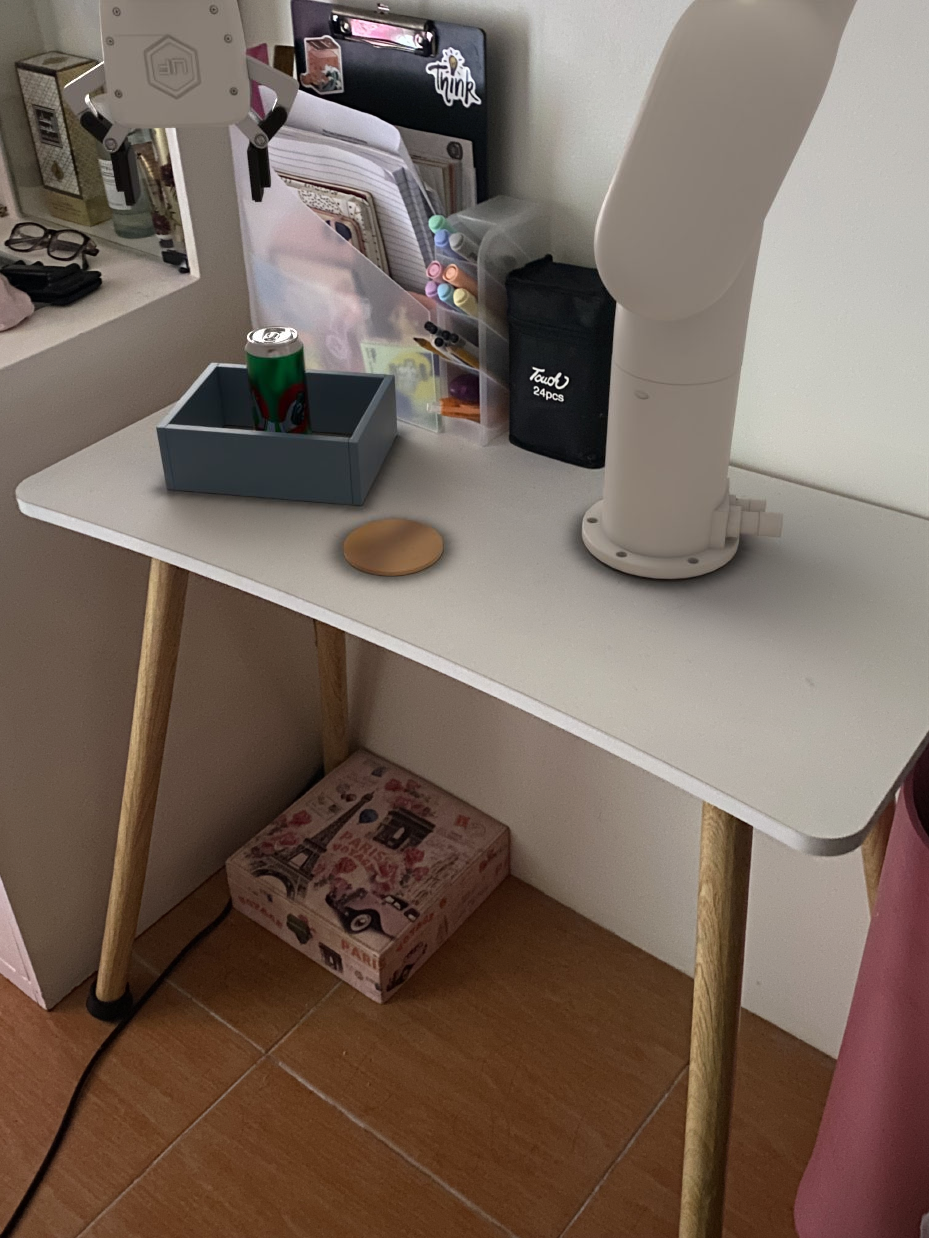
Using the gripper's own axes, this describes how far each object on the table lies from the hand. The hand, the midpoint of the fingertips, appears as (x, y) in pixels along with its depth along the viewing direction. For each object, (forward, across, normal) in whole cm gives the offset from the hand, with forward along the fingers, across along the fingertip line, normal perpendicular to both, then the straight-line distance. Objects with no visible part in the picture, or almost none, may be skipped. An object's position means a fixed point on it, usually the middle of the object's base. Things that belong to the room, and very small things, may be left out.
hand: (196, 199), depth 95 cm
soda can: (+24, +5, +2) cm, 25 cm away
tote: (+24, +5, +2) cm, 25 cm away
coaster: (+24, +14, -14) cm, 31 cm away
